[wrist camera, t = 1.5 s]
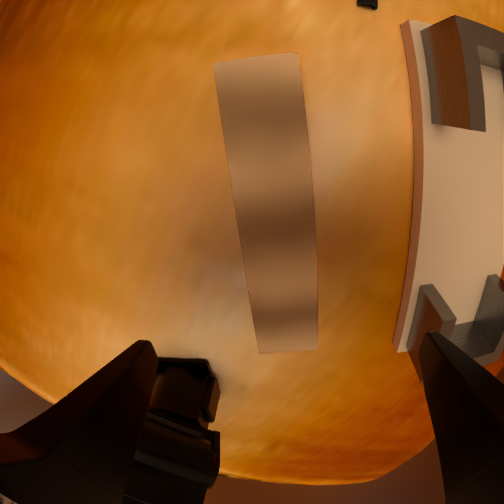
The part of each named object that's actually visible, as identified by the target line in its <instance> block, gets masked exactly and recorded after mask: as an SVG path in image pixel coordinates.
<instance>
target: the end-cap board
mask: <svg viewBox="0 0 504 504" xmlns="http://www.w3.org/2000/svg"><path fill="white" fill-rule="evenodd" d="M431 25H433V24H429V23H424V22H419V21H414V20H407V21H406V22H404V23H402V24H401V25H400V26H401V31H402V36H403V41H404V47H405V52H406V59H407V65H408V73H409V81H410V90H411V100H412V113H413V130H414V195H413V213H412V226H411V237H410V247H409V255H408V263H407V271H406V277H405V284H404V290H403V296H402V301H401V307H400V312H399V317H398V322H397V326H396V331H395V335H394V340H393V343H394V346H395V348H396V351H397V353H399V352H405V351H408V350H407V348H406V343H407V339H408V336H409V332H410V328H411V324H412V320H413V315H414V311H415V307H416V302H417V297H418V292H419V287H420V285H427V284H433V285H434V286H435V288H436V289H437V291H438V292H439V293H440V295H441V296H442V298H443V299H444V300H445V302H446V303H447V305H448V306H449V307H450V309H451V310H452V312H453V313H454V315H455V316H456V318H457V320H456V323H455V325H457V324H462V323H466V322H470V321H473V320H474V317H475V315H476V312H477V309H478V306H479V303H480V300H481V296H482V293H483V290H484V286H485V283H486V279H487V276H488V275H493V274H497V275H498V276H499V277H500V276H501V272H502V268H503V265H504V91H503V82H502V74H501V71H500V70H498V69H494V68H491V67H488V66H485V65H482V64H480V66H481V73H482V81H483V90H484V102H485V119H486V132H481V131H474V130H468V129H462V128H456V127H450V126H444V125H437V124H432V122H431V106H430V94H429V84H428V76H427V68H426V61H425V55H424V49H423V44H422V38H421V33H420V31H421V30H423V29H425V28H427V27H429V26H431Z"/></svg>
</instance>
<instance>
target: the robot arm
mask: <svg viewBox="0 0 504 504" xmlns="http://www.w3.org/2000/svg"><path fill="white" fill-rule="evenodd" d="M418 356H419V361H420V367H421V372H422V378H423V384H424V391H425V396H426V400H427V404H428V408H429V412H430V416H431V420H432V424H433V429H434V433H435V438H436V443H437V448H438V453H439V458H440V465H441V471H442V477H443V484H444V492H445V497H446V498H445V501H446V504H504V384H503V383H502V382H500V381H499V380H498V379H497V378H496V377H494V376H493V375H492V374H491V373H490V372H488V371H487V370H486V369H485V368H484V367H482V366H481V365H480V364H479V363H477V362H476V361H475V360H474V359H473V358H471V357H470V356H469V355H468V354H466V353H465V352H464V351H463V350H461V349H460V348H459V347H457V346H456V345H455V344H454V343H452V342H451V341H450V340H449V339H447V338H446V337H445V336H443V335H442V334H441V333H440V332H438V331H428V332H426V333H425V334H424V336H423V339H422V342H421V345H420V347H419V351H418ZM219 398H220V390H219V387H218V384H217V381H216V378H215V377H214V376H213V375H212V372H211V369H210V366H209V363H208V362H207V361H206V360H192V359H168V358H158V357H157V355H156V352H155V350H154V348H153V345H152V343H151V342H150V341H148V340H138V341H136V342H135V343H134V344H132V345H131V346H130V347H129V348H127V349H126V350H125V351H123V352H122V353H121V354H119V355H118V356H117V357H116V358H114V359H113V360H112V361H110V362H109V363H108V364H107V365H105V366H104V367H103V368H101V369H100V370H99V371H97V372H96V373H95V374H94V375H92V376H91V377H90V378H88V379H87V380H86V381H85V382H83V383H82V384H81V385H79V386H78V387H77V388H75V389H74V390H73V391H72V392H70V393H69V394H68V395H67V397H66V396H65V397H64V398H62V399H61V400H60V401H59V402H57V403H56V404H54V405H53V406H52V407H50V408H49V409H48V410H46V411H45V412H43V413H41V414H40V415H39V416H37V417H36V418H34V419H32V420H30V421H29V422H27V423H26V424H24V425H23V426H21V427H19V428H18V429H16V430H14V431H11V432H9V433H2V434H1V433H0V504H203V502H204V498H205V494H206V491H207V490H208V489H210V488H211V487H212V486H213V484H214V482H215V480H216V478H217V475H218V472H219V467H220V432H217V431H212V430H209V429H208V424H209V423H212V422H214V420H215V416H216V411H217V406H218V401H219Z"/></svg>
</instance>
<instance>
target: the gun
mask: <svg viewBox="0 0 504 504" xmlns="http://www.w3.org/2000/svg"><path fill="white" fill-rule="evenodd" d="M360 4H370V5H372V9H373V10H376V9H377V8H378V1H377V0H357V5H358V6H360Z"/></svg>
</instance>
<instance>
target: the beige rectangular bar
mask: <svg viewBox="0 0 504 504" xmlns="http://www.w3.org/2000/svg"><path fill="white" fill-rule="evenodd" d="M213 66H214V73H215V80H216V87H217V94H218V100H219V107H220V114H221V120H222V127H223V134H224V140H225V147H226V153H227V160H228V166H229V173H230V179H231V186H232V192H233V198H234V205H235V211H236V217H237V223H238V230H239V236H240V242H241V248H242V255H243V261H244V267H245V273H246V279H247V285H248V291H249V297H250V303H251V309H252V315H253V321H254V327H255V333H256V339H257V345H258V350H259V353H279V352H295V351H309V350H318V290H317V254H316V231H315V213H314V198H313V184H312V171H311V160H310V149H309V139H308V130H307V121H306V112H305V104H304V96H303V88H302V81H301V74H300V67H299V61H298V54H297V53H283V54H272V55H263V56H255V57H247V58H240V59H234V60H228V61H222V62H217V63H213Z"/></svg>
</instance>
